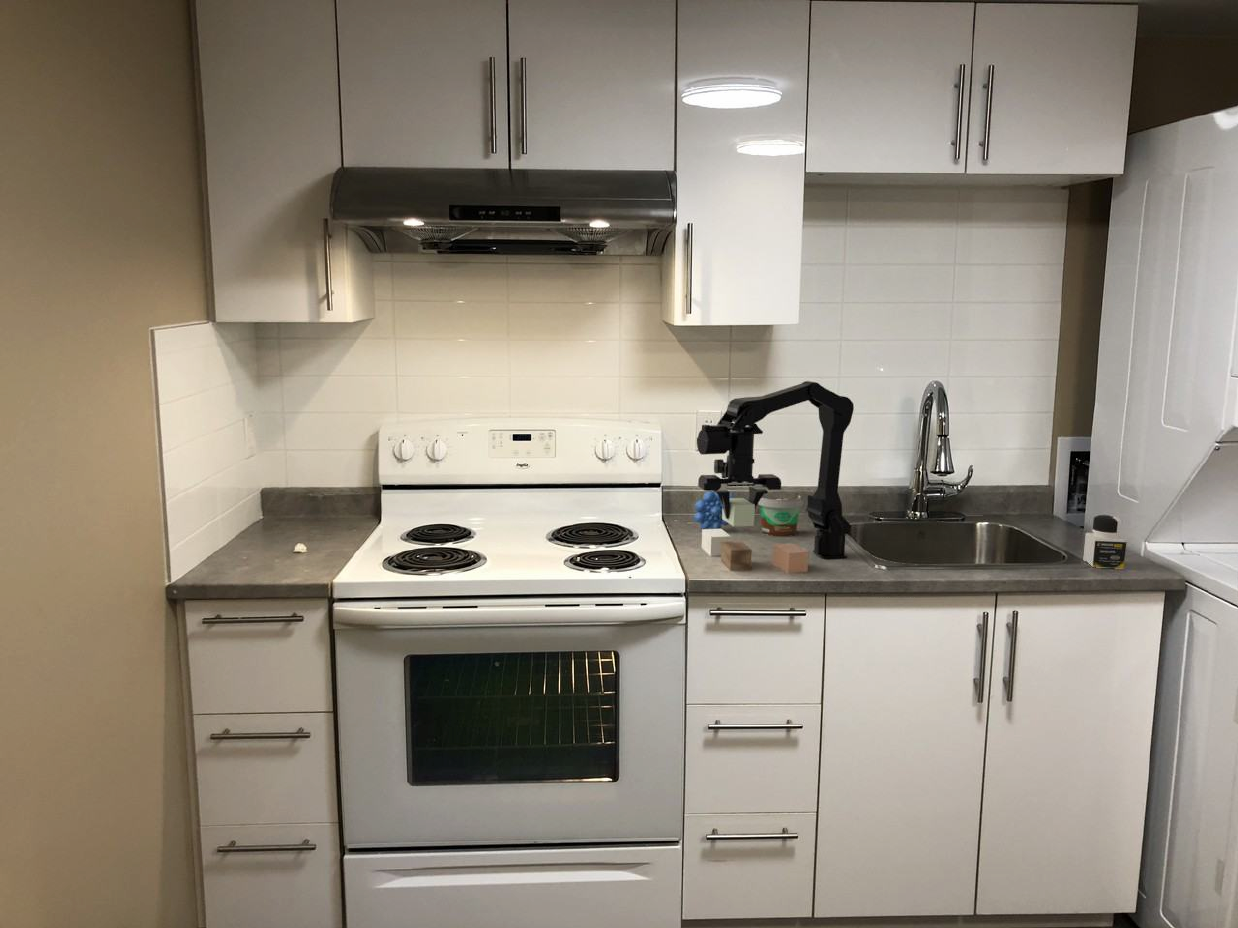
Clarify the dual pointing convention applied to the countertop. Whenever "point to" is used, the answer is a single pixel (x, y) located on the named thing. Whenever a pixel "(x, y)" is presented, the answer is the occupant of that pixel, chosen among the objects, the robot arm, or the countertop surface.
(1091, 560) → the medicine bottle
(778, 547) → the terracotta brick
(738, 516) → the sage brick
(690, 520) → the countertop surface
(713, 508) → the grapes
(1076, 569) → the countertop surface
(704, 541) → the off-white brick
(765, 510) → the food container
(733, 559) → the walnut brick
